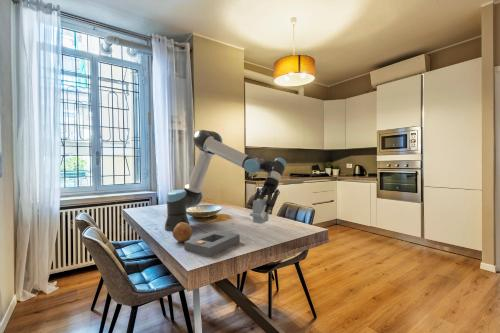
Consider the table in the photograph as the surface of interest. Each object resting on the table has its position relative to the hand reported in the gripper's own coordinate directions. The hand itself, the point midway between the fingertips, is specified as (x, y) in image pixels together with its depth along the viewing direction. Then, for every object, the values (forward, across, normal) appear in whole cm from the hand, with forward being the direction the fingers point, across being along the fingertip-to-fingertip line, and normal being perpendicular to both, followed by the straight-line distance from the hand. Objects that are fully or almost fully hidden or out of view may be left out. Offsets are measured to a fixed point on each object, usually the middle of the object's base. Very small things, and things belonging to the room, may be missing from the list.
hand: (256, 216), depth 124 cm
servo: (0, 0, -5) cm, 5 cm away
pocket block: (+20, +16, +1) cm, 26 cm away
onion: (+22, +35, +2) cm, 41 cm away
